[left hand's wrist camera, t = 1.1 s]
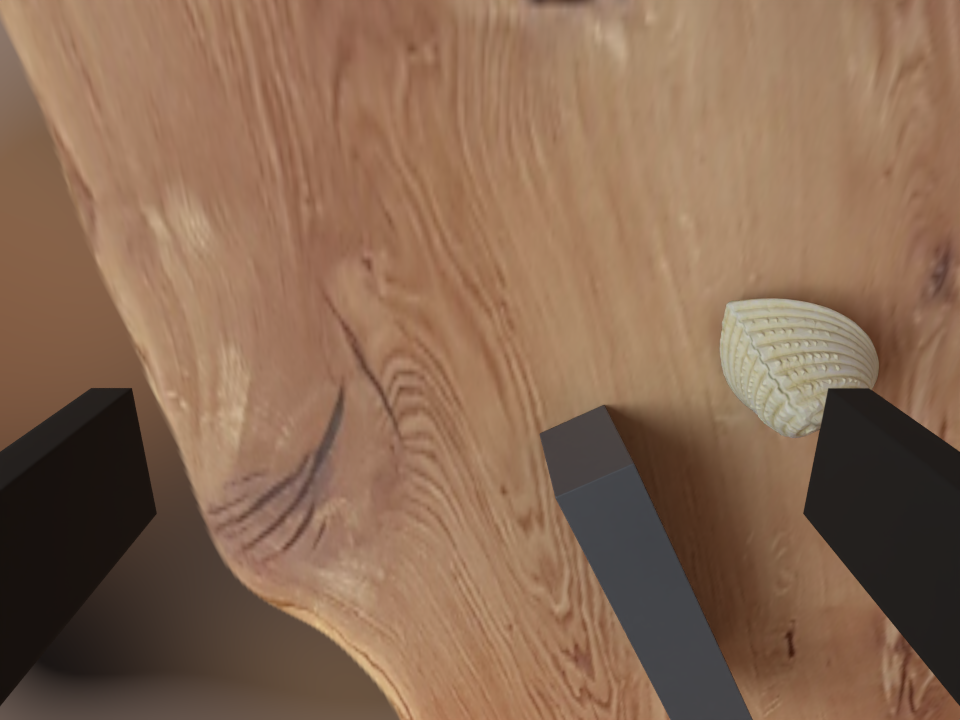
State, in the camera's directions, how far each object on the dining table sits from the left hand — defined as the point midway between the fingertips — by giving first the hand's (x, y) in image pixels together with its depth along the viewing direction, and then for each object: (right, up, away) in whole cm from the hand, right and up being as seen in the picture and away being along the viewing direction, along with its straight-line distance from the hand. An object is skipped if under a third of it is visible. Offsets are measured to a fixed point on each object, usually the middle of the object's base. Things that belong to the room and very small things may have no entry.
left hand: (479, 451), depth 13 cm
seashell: (+19, +2, +29) cm, 35 cm away
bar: (+11, -11, +34) cm, 37 cm away
